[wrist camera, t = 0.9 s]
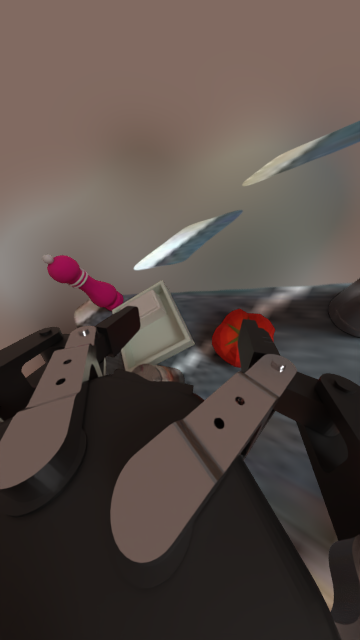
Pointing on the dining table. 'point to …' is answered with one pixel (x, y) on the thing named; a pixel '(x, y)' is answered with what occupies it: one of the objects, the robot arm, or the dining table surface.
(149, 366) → the clear lidded jar
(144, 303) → the off-white tapered piece
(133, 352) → the tote
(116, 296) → the pepper mill
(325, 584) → the dining table surface
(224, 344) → the tomato
